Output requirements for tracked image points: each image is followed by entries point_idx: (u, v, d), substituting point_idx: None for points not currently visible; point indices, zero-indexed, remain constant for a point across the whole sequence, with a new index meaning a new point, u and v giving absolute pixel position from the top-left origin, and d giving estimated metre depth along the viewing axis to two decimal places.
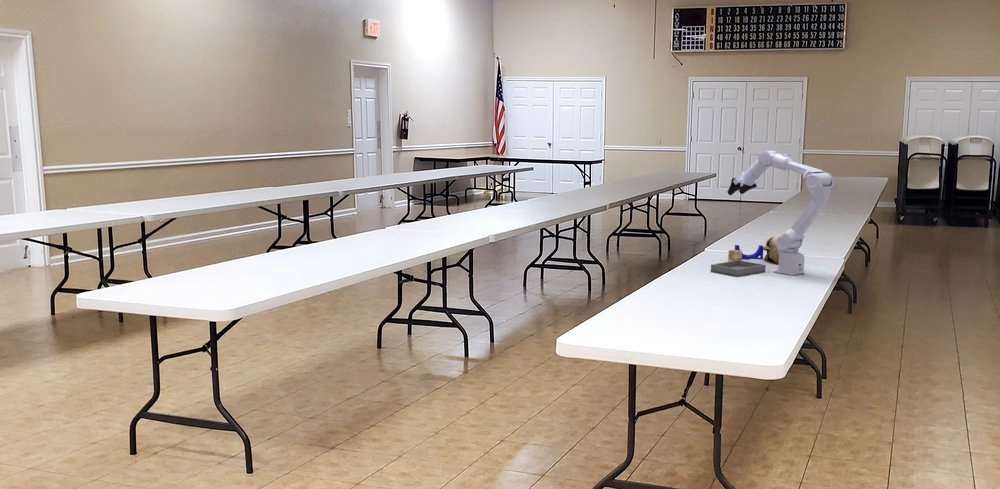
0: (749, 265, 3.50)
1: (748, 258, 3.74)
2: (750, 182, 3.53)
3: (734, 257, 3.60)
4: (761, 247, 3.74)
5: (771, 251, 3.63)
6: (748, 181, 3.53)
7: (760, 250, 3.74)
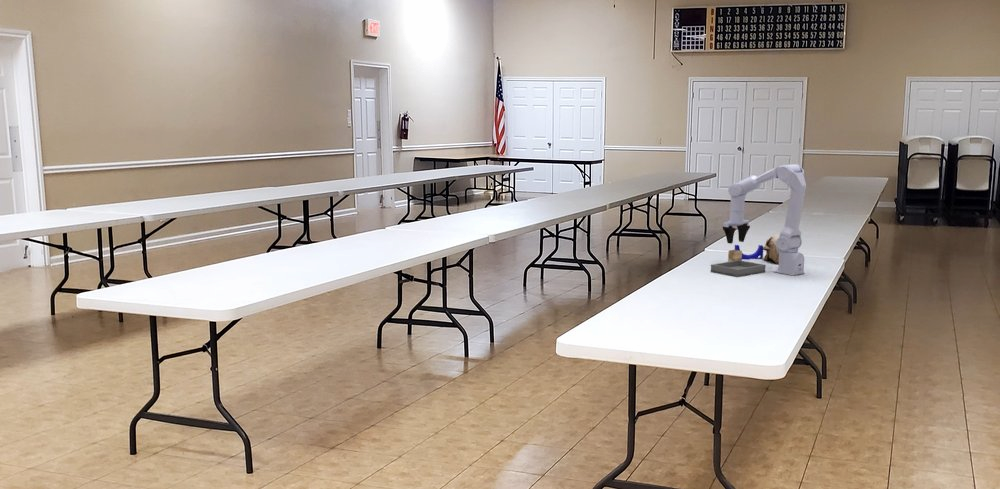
0: (749, 265, 3.50)
1: (748, 258, 3.74)
2: (739, 220, 3.57)
3: (734, 257, 3.60)
4: (761, 247, 3.75)
5: (771, 251, 3.63)
6: (737, 220, 3.57)
7: (760, 250, 3.75)
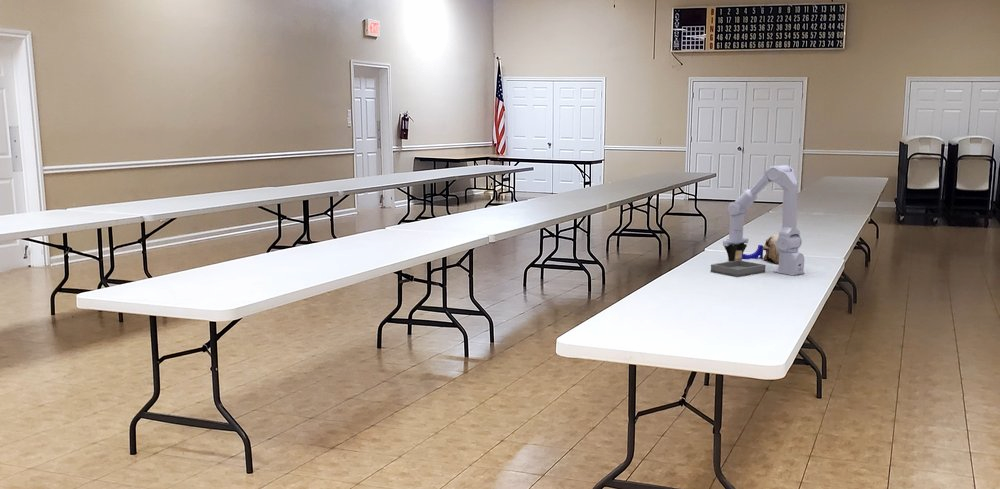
0: (749, 265, 3.50)
1: (748, 258, 3.75)
2: (738, 239, 3.58)
3: None
4: (761, 247, 3.75)
5: (770, 251, 3.64)
6: (736, 239, 3.58)
7: (760, 250, 3.75)
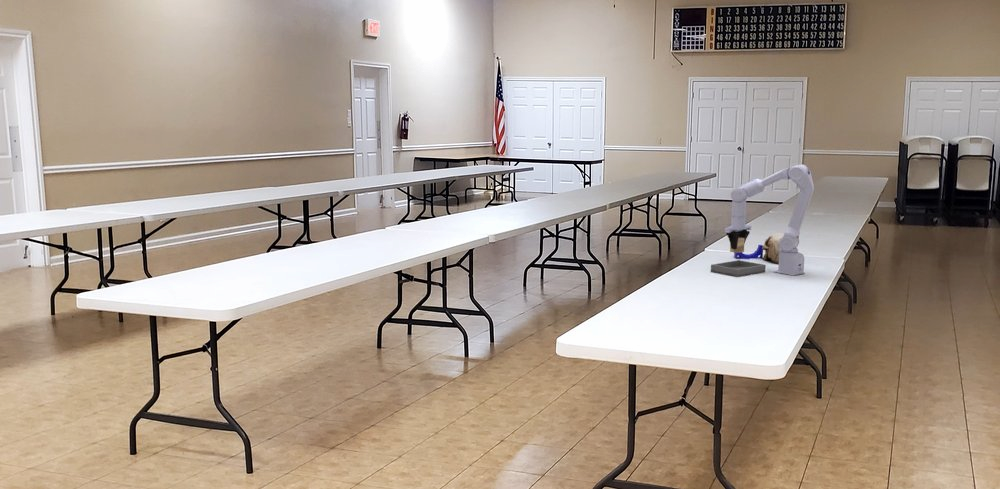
0: (749, 265, 3.50)
1: (748, 258, 3.75)
2: (741, 225, 3.49)
3: None
4: (761, 246, 3.76)
5: (770, 250, 3.65)
6: (738, 225, 3.49)
7: (760, 249, 3.76)
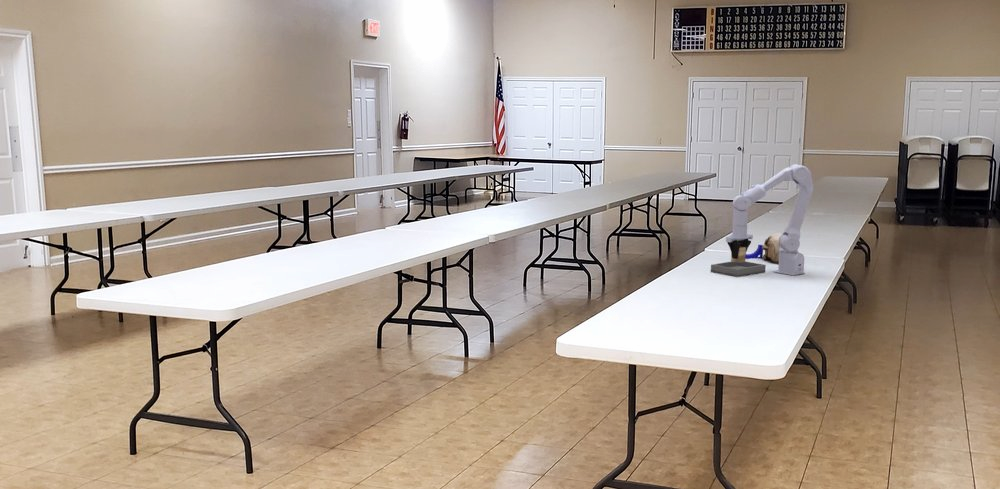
0: (749, 265, 3.50)
1: (748, 257, 3.76)
2: (742, 234, 3.40)
3: None
4: (761, 246, 3.76)
5: (769, 250, 3.65)
6: (740, 234, 3.40)
7: (760, 249, 3.76)
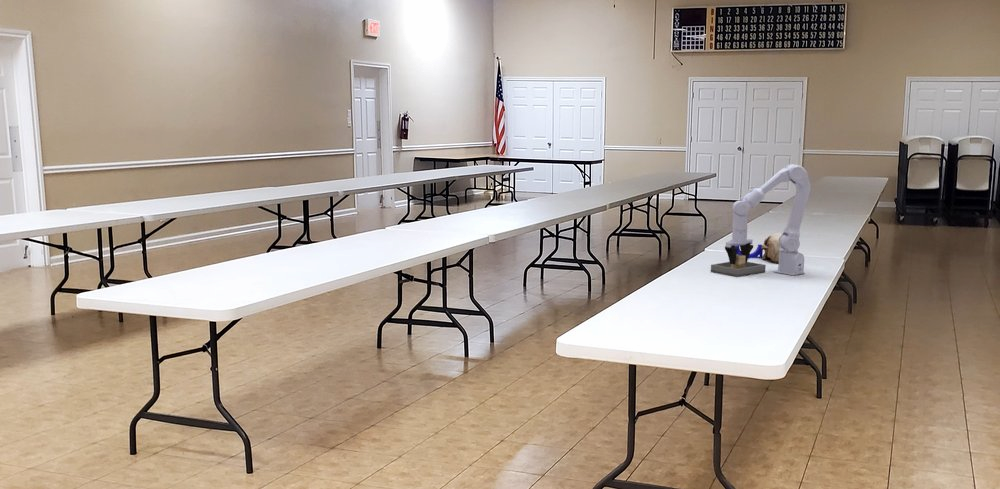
0: (749, 265, 3.50)
1: None
2: (742, 239, 3.41)
3: (737, 263, 3.43)
4: (760, 246, 3.77)
5: (769, 250, 3.66)
6: (739, 239, 3.41)
7: (760, 249, 3.77)
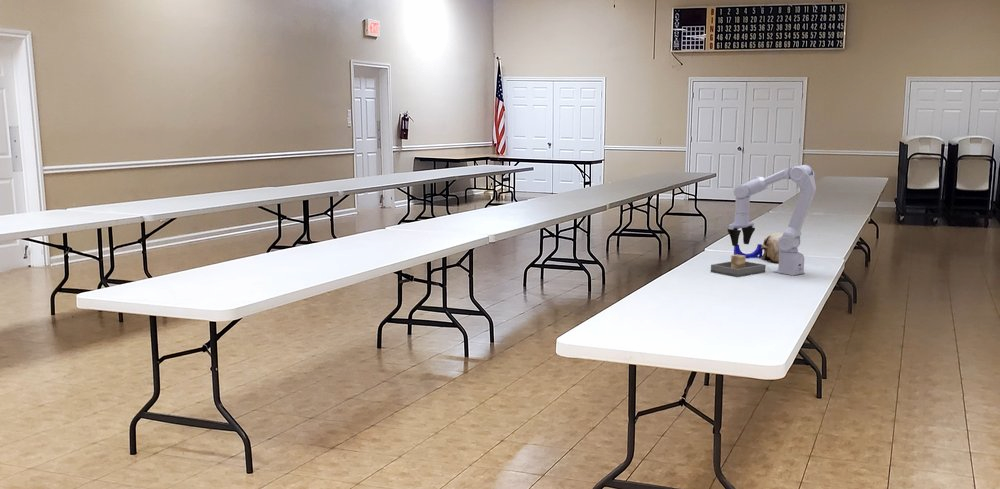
0: (749, 265, 3.50)
1: (747, 257, 3.77)
2: (744, 222, 3.51)
3: (737, 263, 3.43)
4: (760, 246, 3.77)
5: (768, 250, 3.66)
6: (742, 222, 3.51)
7: (759, 249, 3.78)
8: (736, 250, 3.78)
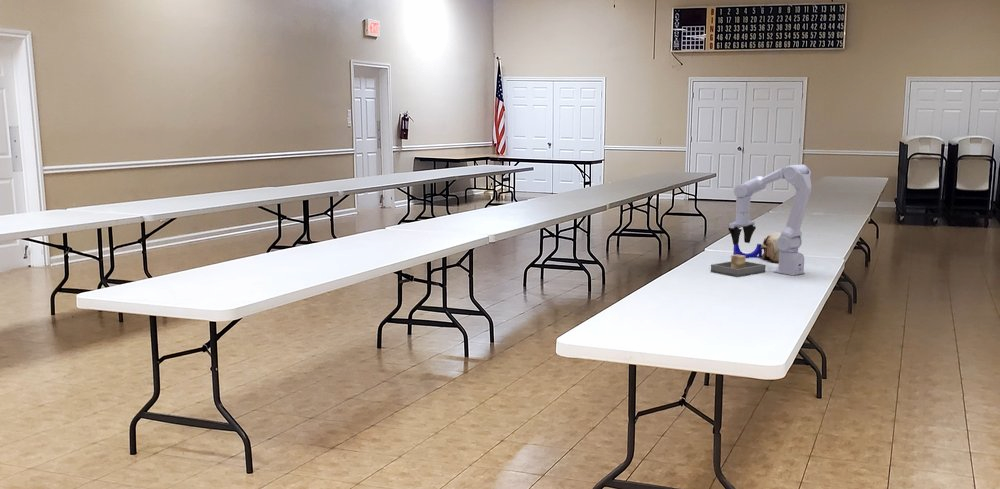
0: (749, 265, 3.50)
1: (747, 257, 3.78)
2: (745, 221, 3.55)
3: (737, 263, 3.43)
4: (760, 246, 3.78)
5: (768, 249, 3.67)
6: (742, 221, 3.55)
7: (759, 249, 3.78)
8: (736, 250, 3.79)
